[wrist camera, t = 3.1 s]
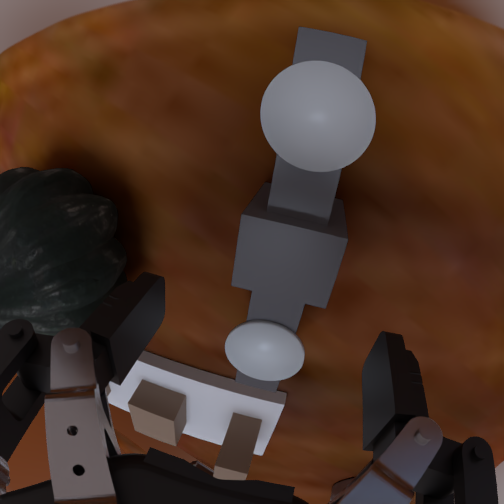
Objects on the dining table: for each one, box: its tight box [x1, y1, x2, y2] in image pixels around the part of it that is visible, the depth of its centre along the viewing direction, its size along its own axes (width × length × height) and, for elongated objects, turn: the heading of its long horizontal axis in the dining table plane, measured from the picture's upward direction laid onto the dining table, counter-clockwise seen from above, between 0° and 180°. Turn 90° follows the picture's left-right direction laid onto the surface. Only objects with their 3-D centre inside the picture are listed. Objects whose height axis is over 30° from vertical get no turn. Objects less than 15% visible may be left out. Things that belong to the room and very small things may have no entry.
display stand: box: [106, 351, 287, 480], centre depth 29 cm, size 24×12×8 cm, turn 81°
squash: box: [0, 167, 127, 336], centre depth 20 cm, size 14×15×15 cm
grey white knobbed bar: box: [225, 27, 376, 393], centre depth 18 cm, size 22×5×6 cm, turn 171°
